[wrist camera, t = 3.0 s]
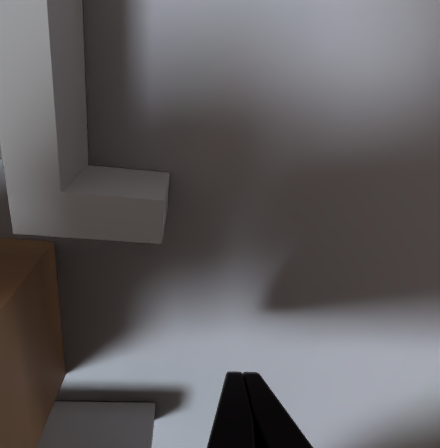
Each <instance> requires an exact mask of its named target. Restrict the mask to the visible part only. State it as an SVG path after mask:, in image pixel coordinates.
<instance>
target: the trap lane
mask: <svg viewBox="0 0 440 448" xmlns="http://www.w3.org/2000/svg"><path fill="white" fill-rule="evenodd" d="M0 159H2V160H3V167H4V174H5V181H6V188H7V195H8V202H9V209H10V216H11V223H12V230H13V234H23V235H38V236H52V237H66V238H81V239H95V240H110V241H124V242H138V243H153V244H162V238H163V232H164V226H165V220H166V214H167V207H168V191H169V174H170V173H167V172H157V171H146V170H136V169H125V168H114V167H104V166H93V165H89V164H88V138H87V111H86V85H85V58H84V31H83V5H82V0H0ZM154 416H155V403H131V402H63V401H55V402H54V404H53V407H52V409H51V412H50V414H49V417H48V419H47V422H46V424H45V427H44V429H43V431H42V434H41V436H40V439H39V441H38V444H37V446H36V448H151V447H152V437H153V428H154Z"/></svg>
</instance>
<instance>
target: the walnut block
mask: <svg viewBox="0 0 440 448" xmlns="http://www.w3.org/2000/svg"><path fill="white" fill-rule="evenodd" d="M65 375H66V371H65V359H64V348H63V337H62V325H61V314H60V303H59V291H58V280H57V269H56V257H55V246H54V241H42V240H28V239H13V238H0V448H36V446H37V444H38V441H39V439H40V436H41V434H42V431H43V429H44V427H45V424H46V422H47V419H48V417H49V414H50V412H51V409H52V407H53V404H54V402H55V400H56V397H57V395H58V392H59V390H60V387H61V385H62V382H63V380H64V377H65Z"/></svg>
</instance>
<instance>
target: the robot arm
mask: <svg viewBox="0 0 440 448" xmlns="http://www.w3.org/2000/svg"><path fill="white" fill-rule="evenodd" d="M207 448H313V447H312V445H311V444H310V443H309V441H308V440H307V439H306V437H305V436H304V434H303V433H302V432H301V430H300V429H299V428H298V426H297V425H296V424H295V422H294V421H293V419H292V418H291V417H290V415H289V414H288V413H287V411H286V410H285V408H284V407H283V406H282V404H281V403H280V402H279V400H278V399H277V397H276V396H275V395H274V393H273V392H272V391H271V389H270V388H269V386H268V385H267V384H266V382H265V381H264V380H263V378H262V377H261V376H260V374H259V373H257V372H244V373H243V374H242V373H241V372H227V374H226V377H225V381H224V385H223V388H222V392H221V396H220V400H219V404H218V408H217V411H216V415H215V419H214V423H213V427H212V430H211V434H210V438H209V442H208V446H207Z"/></svg>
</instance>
